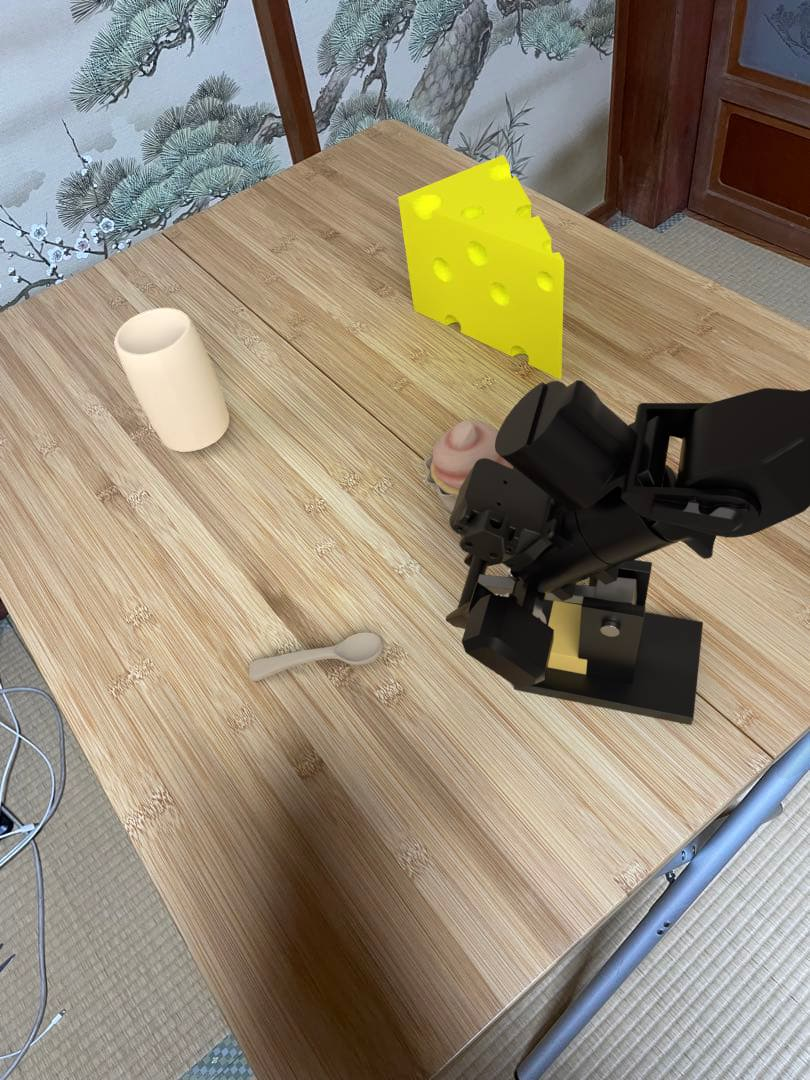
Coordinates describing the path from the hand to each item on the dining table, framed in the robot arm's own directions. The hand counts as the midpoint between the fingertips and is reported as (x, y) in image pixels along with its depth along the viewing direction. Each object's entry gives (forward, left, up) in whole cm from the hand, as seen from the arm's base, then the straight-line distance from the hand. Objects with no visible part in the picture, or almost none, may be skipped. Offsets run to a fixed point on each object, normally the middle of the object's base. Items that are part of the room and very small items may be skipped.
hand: (459, 591), depth 68 cm
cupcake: (+5, -15, -6) cm, 17 cm away
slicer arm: (-7, -1, +1) cm, 7 cm away
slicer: (-12, -2, -6) cm, 14 cm away
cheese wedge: (+14, -42, -6) cm, 44 cm away
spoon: (+11, +7, -6) cm, 14 cm away
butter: (-9, -1, -5) cm, 10 cm away
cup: (+38, -14, -6) cm, 41 cm away
